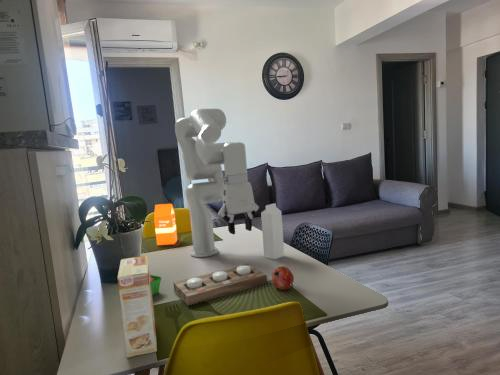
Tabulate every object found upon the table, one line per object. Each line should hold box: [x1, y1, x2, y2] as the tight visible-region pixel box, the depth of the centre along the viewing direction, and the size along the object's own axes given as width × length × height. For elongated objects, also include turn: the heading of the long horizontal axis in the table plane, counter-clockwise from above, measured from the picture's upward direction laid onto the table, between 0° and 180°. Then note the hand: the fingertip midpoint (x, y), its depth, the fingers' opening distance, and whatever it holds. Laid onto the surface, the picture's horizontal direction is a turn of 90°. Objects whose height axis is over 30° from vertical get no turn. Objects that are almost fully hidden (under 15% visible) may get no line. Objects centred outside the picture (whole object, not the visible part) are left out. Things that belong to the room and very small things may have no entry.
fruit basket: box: [150, 274, 162, 296], centre depth 117 cm, size 11×9×11 cm
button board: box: [173, 263, 268, 307], centre depth 120 cm, size 14×28×3 cm, turn 119°
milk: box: [260, 202, 285, 261], centre depth 147 cm, size 6×6×22 cm
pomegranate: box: [271, 265, 295, 291], centre depth 116 cm, size 7×7×10 cm
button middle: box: [213, 271, 227, 283], centre depth 120 cm, size 5×5×2 cm
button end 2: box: [237, 265, 251, 277], centre depth 125 cm, size 5×5×2 cm
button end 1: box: [187, 277, 202, 290], centre depth 116 cm, size 5×5×2 cm
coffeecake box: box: [117, 255, 158, 358], centre depth 90 cm, size 15×7×20 cm, turn 17°
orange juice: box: [153, 203, 178, 246], centre depth 182 cm, size 8×9×20 cm
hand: (240, 231), depth 123 cm, fingers open, 5 cm apart
